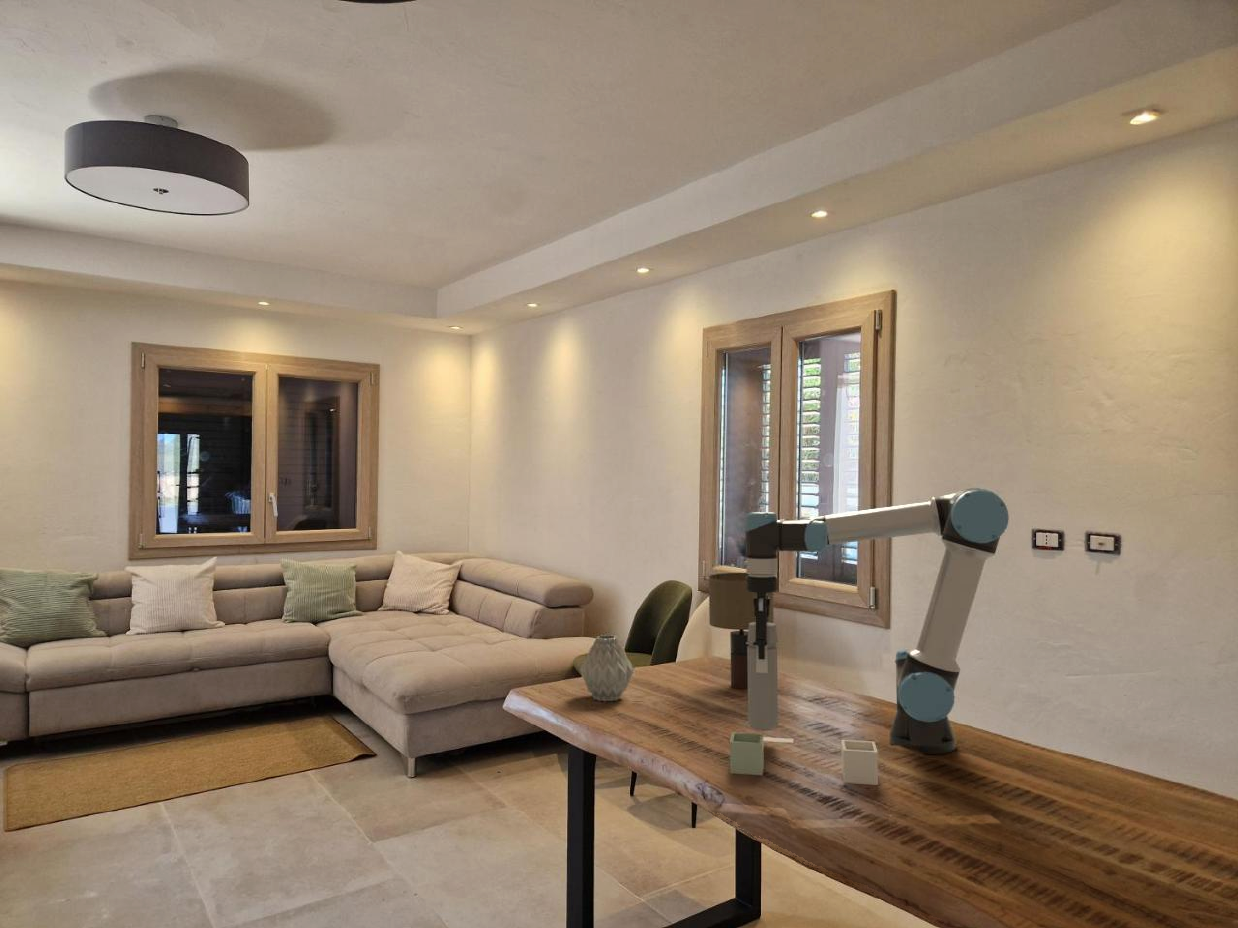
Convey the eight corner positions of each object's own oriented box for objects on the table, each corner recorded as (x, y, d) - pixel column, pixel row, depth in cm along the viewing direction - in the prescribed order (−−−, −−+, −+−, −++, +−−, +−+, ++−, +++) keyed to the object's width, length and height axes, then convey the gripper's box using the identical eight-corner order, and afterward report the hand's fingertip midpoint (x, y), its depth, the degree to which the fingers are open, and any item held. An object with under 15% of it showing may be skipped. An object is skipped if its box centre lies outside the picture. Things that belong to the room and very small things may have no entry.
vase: (574, 693, 248) (574, 633, 248) (624, 689, 253) (624, 630, 253) (588, 707, 232) (587, 643, 233) (641, 702, 237) (641, 639, 237)
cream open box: (875, 778, 176) (874, 741, 176) (878, 790, 169) (877, 752, 169) (841, 776, 177) (841, 739, 177) (843, 788, 170) (843, 750, 170)
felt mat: (793, 740, 201) (793, 738, 201) (793, 759, 188) (793, 757, 188) (737, 737, 204) (737, 735, 204) (733, 756, 191) (733, 753, 191)
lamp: (739, 675, 269) (738, 571, 269) (787, 687, 253) (786, 576, 254) (697, 685, 256) (695, 576, 257) (744, 698, 240) (743, 581, 241)
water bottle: (779, 732, 191) (778, 626, 192) (745, 730, 192) (745, 625, 193) (779, 722, 200) (778, 621, 201) (747, 720, 201) (746, 620, 202)
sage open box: (763, 769, 182) (763, 733, 182) (762, 780, 175) (762, 743, 175) (732, 767, 183) (732, 732, 183) (730, 778, 176) (729, 741, 177)
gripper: (748, 569, 208) (749, 657, 207) (743, 580, 187) (744, 677, 187) (778, 570, 206) (779, 659, 206) (776, 580, 186) (777, 679, 185)
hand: (762, 667), depth 196 cm, fingers closed on water bottle, 8 cm apart
